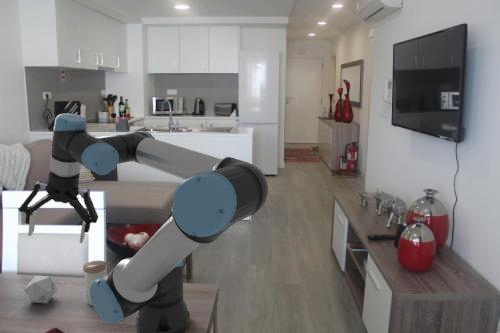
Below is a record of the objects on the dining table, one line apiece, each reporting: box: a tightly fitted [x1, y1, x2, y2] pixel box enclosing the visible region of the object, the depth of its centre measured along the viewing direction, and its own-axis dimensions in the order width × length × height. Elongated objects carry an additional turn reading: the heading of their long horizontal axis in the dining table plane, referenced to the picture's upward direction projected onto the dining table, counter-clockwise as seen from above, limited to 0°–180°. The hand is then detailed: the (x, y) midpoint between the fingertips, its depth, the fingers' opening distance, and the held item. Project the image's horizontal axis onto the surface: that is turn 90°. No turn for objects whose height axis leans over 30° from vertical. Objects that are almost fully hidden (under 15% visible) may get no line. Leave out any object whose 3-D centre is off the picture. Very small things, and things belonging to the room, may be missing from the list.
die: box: [23, 275, 58, 305], centre depth 132 cm, size 8×9×10 cm
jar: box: [82, 260, 108, 307], centre depth 132 cm, size 7×7×12 cm
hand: (56, 236), depth 120 cm, fingers open, 13 cm apart
